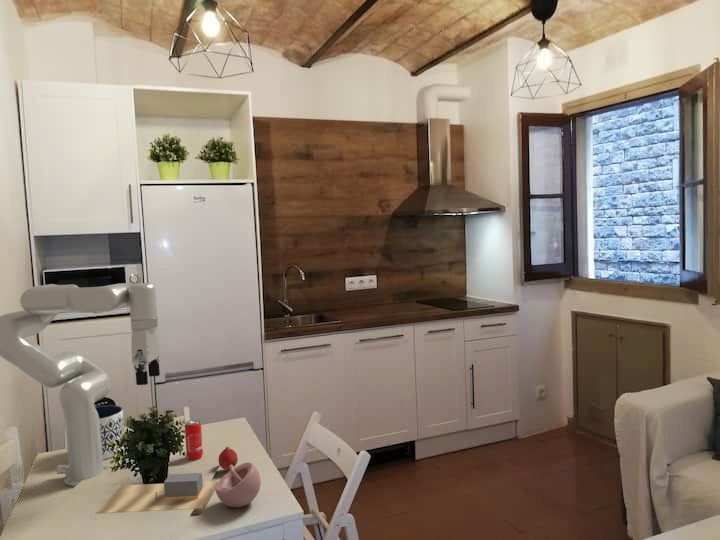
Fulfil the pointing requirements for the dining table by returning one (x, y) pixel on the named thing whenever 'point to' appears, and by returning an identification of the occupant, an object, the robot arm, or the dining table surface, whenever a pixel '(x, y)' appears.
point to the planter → (110, 427)
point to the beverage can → (193, 439)
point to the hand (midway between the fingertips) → (148, 380)
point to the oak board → (154, 499)
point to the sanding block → (183, 486)
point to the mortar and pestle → (239, 485)
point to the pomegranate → (227, 458)
